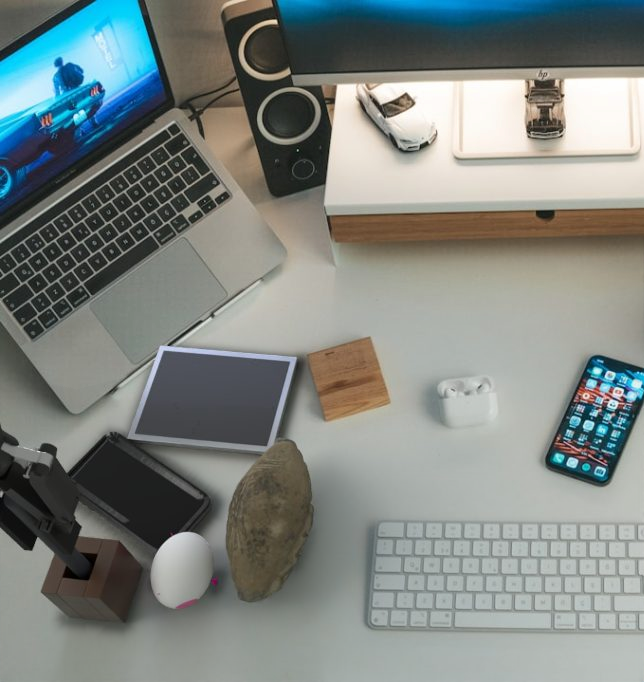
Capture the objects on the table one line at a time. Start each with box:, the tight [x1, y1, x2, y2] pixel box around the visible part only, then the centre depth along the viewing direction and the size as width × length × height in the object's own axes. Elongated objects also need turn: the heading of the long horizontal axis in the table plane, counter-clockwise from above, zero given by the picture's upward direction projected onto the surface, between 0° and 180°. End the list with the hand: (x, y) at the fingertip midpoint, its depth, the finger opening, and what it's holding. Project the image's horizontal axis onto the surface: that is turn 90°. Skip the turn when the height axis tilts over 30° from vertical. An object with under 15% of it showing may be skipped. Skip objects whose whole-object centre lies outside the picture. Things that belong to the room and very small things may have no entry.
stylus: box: [4, 495, 94, 581], centre depth 99 cm, size 2×2×22 cm
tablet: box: [126, 345, 299, 456], centre depth 119 cm, size 16×12×1 cm
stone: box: [225, 437, 315, 604], centre depth 107 cm, size 17×9×8 cm, turn 179°
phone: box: [66, 431, 213, 556], centre depth 113 cm, size 8×1×15 cm
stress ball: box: [149, 531, 218, 610], centre depth 106 cm, size 8×8×7 cm
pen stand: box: [39, 535, 143, 624], centre depth 105 cm, size 6×6×7 cm
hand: (53, 538), depth 96 cm, fingers open, 3 cm apart
